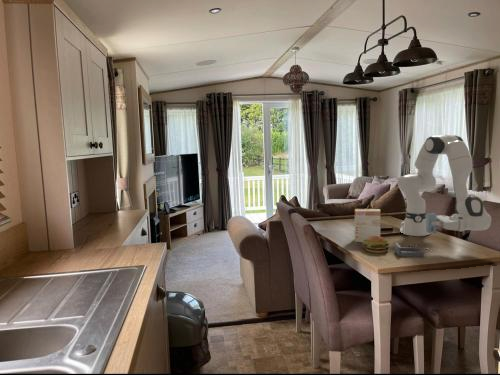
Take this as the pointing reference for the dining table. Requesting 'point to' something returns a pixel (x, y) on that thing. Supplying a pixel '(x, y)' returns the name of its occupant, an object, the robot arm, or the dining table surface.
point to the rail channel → (408, 251)
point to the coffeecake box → (366, 223)
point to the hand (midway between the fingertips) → (429, 222)
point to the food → (376, 244)
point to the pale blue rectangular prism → (430, 218)
